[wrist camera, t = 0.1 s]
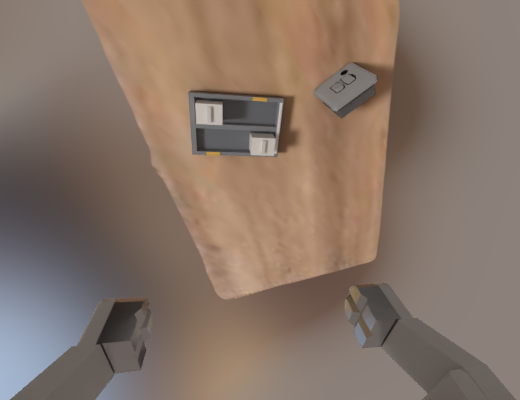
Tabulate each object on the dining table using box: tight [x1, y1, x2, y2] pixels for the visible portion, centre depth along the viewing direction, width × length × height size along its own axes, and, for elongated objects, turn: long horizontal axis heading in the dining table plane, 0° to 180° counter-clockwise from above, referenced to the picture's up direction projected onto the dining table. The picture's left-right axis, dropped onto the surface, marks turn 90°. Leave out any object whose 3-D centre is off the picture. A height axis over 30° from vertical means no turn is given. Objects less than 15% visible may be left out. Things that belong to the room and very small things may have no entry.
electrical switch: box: [314, 63, 378, 118], centre depth 48 cm, size 9×5×9 cm, turn 127°
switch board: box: [188, 91, 284, 157], centre depth 52 cm, size 12×19×3 cm, turn 86°
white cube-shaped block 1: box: [195, 99, 223, 125], centre depth 47 cm, size 4×5×5 cm
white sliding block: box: [249, 132, 276, 156], centre depth 52 cm, size 4×5×5 cm
